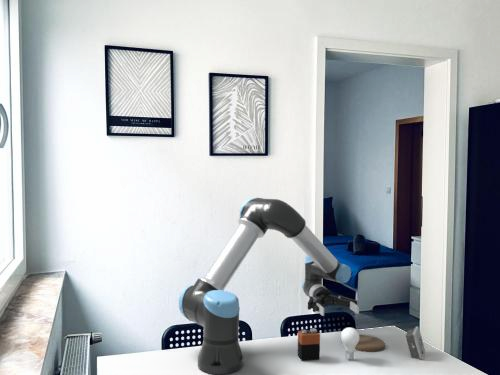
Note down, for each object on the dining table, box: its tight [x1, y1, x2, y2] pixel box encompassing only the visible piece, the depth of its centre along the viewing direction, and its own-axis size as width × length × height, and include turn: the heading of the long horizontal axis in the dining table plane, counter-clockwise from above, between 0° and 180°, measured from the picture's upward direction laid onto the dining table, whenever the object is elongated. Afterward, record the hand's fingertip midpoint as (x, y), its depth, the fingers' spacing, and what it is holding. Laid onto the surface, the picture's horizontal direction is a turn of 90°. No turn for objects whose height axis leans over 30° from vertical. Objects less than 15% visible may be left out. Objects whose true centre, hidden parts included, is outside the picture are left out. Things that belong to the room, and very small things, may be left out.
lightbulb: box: [340, 327, 360, 361], centre depth 147 cm, size 6×6×11 cm
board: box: [355, 333, 386, 353], centre depth 162 cm, size 15×15×1 cm
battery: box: [297, 327, 321, 362], centre depth 148 cm, size 4×7×10 cm, turn 102°
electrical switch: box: [405, 326, 426, 361], centre depth 153 cm, size 9×5×9 cm, turn 152°
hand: (340, 311), depth 157 cm, fingers open, 13 cm apart
